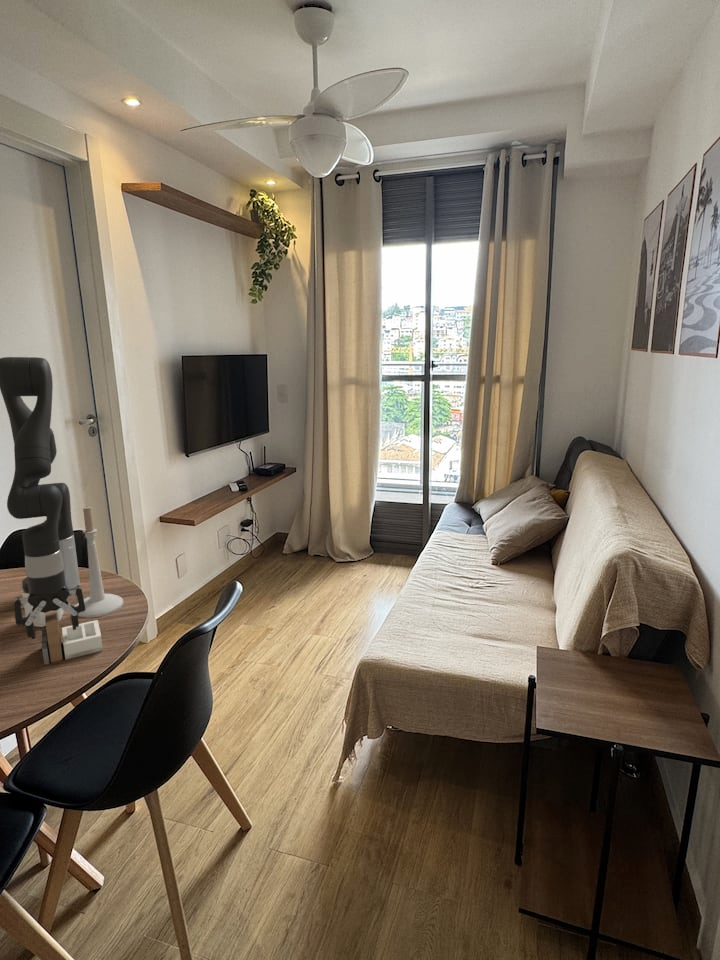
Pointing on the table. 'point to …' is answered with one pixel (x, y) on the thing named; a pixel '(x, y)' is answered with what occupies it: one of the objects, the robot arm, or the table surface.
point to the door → (53, 635)
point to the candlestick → (96, 578)
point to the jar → (40, 619)
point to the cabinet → (77, 641)
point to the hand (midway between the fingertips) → (54, 633)
